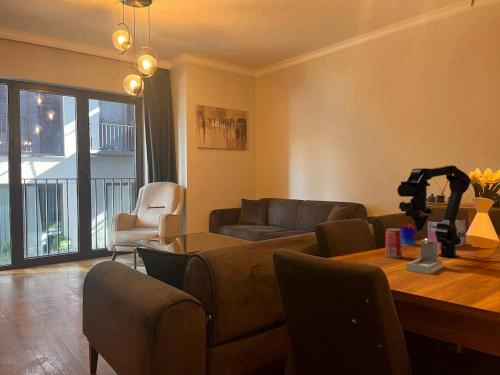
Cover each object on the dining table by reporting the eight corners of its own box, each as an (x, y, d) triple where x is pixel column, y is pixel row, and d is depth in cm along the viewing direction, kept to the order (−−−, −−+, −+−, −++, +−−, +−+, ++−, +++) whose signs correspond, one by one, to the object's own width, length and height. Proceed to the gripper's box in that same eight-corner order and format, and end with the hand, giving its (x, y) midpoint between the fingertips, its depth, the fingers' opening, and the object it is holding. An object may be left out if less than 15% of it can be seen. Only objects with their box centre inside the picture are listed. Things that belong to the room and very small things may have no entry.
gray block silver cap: (424, 260, 165) (424, 237, 165) (437, 262, 162) (437, 238, 161) (420, 262, 161) (420, 238, 161) (433, 264, 158) (433, 240, 158)
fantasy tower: (392, 244, 216) (392, 222, 216) (409, 242, 220) (409, 221, 220) (406, 247, 205) (406, 225, 205) (424, 246, 209) (425, 224, 208)
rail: (421, 263, 168) (421, 256, 168) (443, 266, 162) (443, 259, 162) (406, 270, 155) (406, 263, 155) (429, 274, 149) (430, 267, 149)
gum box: (454, 242, 220) (454, 218, 220) (467, 244, 213) (468, 220, 213) (426, 246, 209) (427, 221, 208) (440, 248, 202) (440, 222, 201)
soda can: (403, 258, 177) (403, 230, 177) (386, 258, 179) (386, 230, 178) (400, 255, 184) (400, 228, 184) (384, 255, 186) (384, 228, 185)
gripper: (409, 195, 187) (408, 227, 187) (393, 196, 173) (393, 231, 173) (433, 195, 179) (433, 229, 179) (419, 197, 165) (419, 234, 166)
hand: (419, 231), depth 175 cm, fingers closed
